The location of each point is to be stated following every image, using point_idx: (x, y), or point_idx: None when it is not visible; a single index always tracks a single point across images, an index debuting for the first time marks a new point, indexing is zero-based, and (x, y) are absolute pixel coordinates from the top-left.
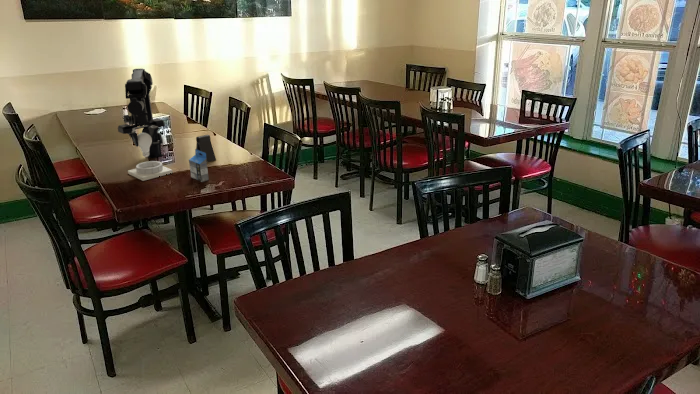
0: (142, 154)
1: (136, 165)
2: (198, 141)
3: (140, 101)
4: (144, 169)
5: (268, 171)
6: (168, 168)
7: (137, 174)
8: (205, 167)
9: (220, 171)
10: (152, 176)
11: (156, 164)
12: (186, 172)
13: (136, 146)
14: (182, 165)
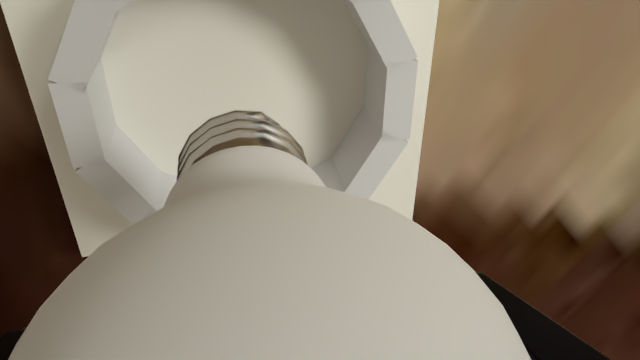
0: (177, 168)
1: (77, 7)
2: None
3: None
4: (132, 221)
5: None
6: (414, 164)
7: (56, 132)
8: None
9: (610, 352)
10: None
11: (369, 40)
12: (479, 253)
13: (15, 342)
14: (609, 57)
